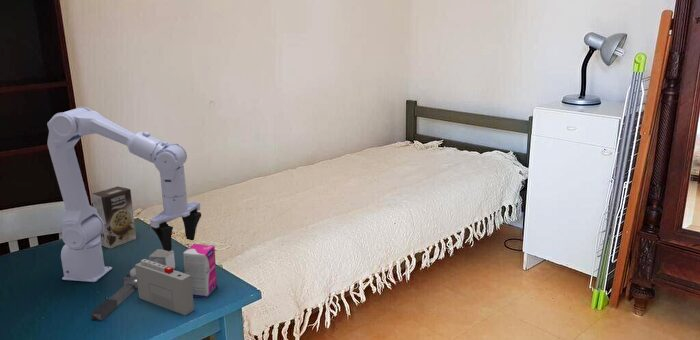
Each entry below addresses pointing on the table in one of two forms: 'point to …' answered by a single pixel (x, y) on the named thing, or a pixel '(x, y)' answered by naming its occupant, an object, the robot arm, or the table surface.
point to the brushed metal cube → (163, 257)
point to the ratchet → (116, 297)
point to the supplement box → (201, 269)
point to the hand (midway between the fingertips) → (179, 244)
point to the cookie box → (115, 216)
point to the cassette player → (164, 286)
